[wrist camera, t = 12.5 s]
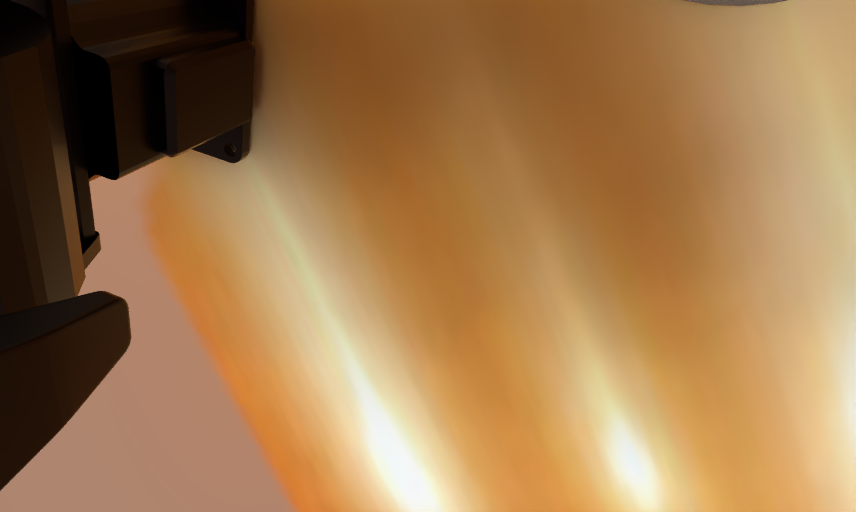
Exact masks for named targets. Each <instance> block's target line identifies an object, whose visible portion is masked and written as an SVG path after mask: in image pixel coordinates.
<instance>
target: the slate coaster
mask: <svg viewBox="0 0 856 512" xmlns="http://www.w3.org/2000/svg"><path fill="white" fill-rule="evenodd" d="M687 1H692V2H698V3H703V4H711V5H735V6H744V5H755V4H767V3H776V2H781V1H786V0H687Z"/></svg>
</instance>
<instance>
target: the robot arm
mask: <svg viewBox="0 0 856 512" xmlns="http://www.w3.org/2000/svg"><path fill="white" fill-rule="evenodd" d="M253 6H254V0H0V491H1V490H2V489H3V488H4V487H5V486H6V485H7V484H8V483H9V481H10V480H11V479H12V478H14V477H15V475H16V474H17V473H18V472H20V470H22V469H23V468H24V466H26V464H27V463H28V462H29V461H30V460H31V459H32V458H33V457H34V456H35V455H36V454H37V453H38V452H39V451H40V450H41V449H42V448H43V447H44V446H45V445H46V444H47V443H48V442H49V441H50V440H51V439H52V438H53V437H54V436H55V435H56V434H57V433H58V432H59V431H60V430H61V429H62V428H63V427H64V425H65V424H66V423H67V422H68V421H69V420H70V419H71V418H72V416H73V415H74V414H75V413H76V412H77V410H78V409H79V408H80V407H81V406H82V404H83V403H84V402H85V401H86V400H87V398H88V397H89V396H90V395H91V393H92V392H93V391H94V390H95V389H96V387H97V386H98V385H99V384H100V383H101V381H102V380H103V379H104V378H105V377H106V375H107V374H108V373H109V372H110V370H111V369H112V368H113V367H114V365H115V364H116V363H117V362H118V361H119V360H120V358H121V357H122V356H123V355H124V353H125V352H126V351H127V349H128V347H129V345H130V341H131V328H130V319H129V307H128V304H127V302H126V301H125V299H123V298H121V297H119V296H116V295H114V294H111V293H109V292H106V291H97V292H93V293H89V294H85V295H81V296H78V294H79V291H80V289H81V286H82V284H83V282H84V279H85V269H86V268H87V266H88V265H89V264H90V263H91V261H92V260H93V259H94V258H95V256H96V255H97V254H98V253H99V252H100V250H101V244H100V236H99V233H98V232H97V231H95V227H94V218H93V210H92V202H91V194H90V186H89V181H91V180H94V179H95V178H98V177H100V176H103V177H105V178H108V179H111V180H117V179H119V178H121V177H123V176H125V175H127V174H130V173H132V172H134V171H136V170H138V169H140V168H142V167H144V166H146V165H149V164H151V163H153V162H155V161H157V160H159V159H161V158H163V157H166V156H168V157H176V156H178V155H180V154H182V153H184V152H186V151H188V150H190V149H192V150H195V151H198V152H201V153H204V154H207V155H210V156H213V157H216V158H219V159H221V160H224V161H227V162H230V163H236V162H239V161H240V160H242V159H244V158H245V157H246V156H247V155H248V150H249V121H250V119H251V118H252V108H253V81H254V54H255V50H254V47H253V44H252V35H253ZM230 144H232V145H234V147H235V148H236V152H234V151H233V150H232V148H231V145H230Z"/></svg>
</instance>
